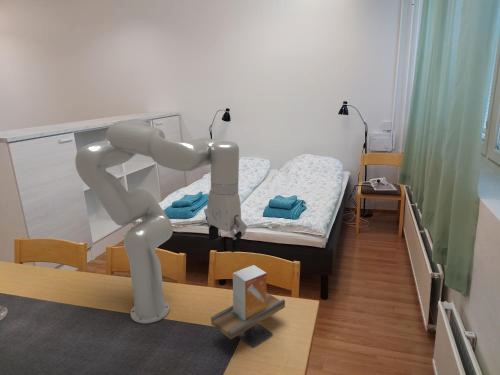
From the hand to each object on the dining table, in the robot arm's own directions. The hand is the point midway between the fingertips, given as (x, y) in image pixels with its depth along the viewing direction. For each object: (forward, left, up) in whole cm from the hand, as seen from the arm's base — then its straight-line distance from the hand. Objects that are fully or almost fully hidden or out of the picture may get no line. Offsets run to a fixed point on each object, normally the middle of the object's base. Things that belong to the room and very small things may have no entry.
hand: (224, 244), depth 104 cm
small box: (+5, +5, -22) cm, 23 cm away
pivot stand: (+5, +5, -30) cm, 30 cm away
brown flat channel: (+5, +5, -24) cm, 25 cm away
